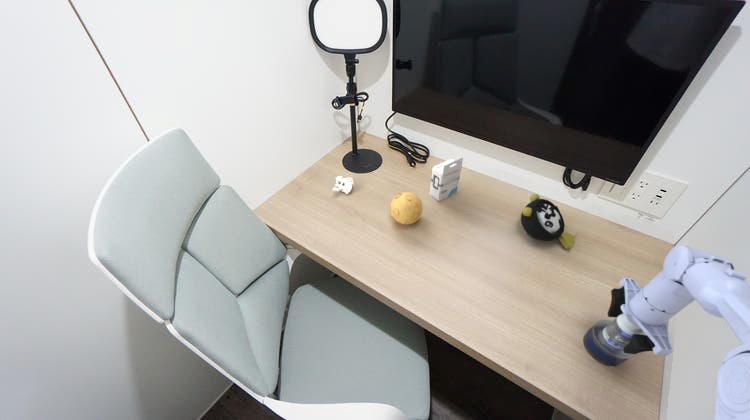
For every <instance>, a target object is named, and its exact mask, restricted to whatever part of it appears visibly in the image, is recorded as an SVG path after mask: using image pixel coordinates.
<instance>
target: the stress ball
mask: <svg viewBox="0 0 750 420" xmlns="http://www.w3.org/2000/svg"><path fill="white" fill-rule="evenodd" d="M423 210H424V206H423V202H422V200H421V199H420V197H419V196H418V195H417V194H415V193H413V192H409V191H405V192H404V191H403V192H399V193H397V194H396V195H395V196H394V197H393V199H392V200H391V203H390V216H391V217H392V218H393V219H394V220H395V221H396V222H397V223H399V224H402V225H413V224H415V223H416V222H417V221H418V220H419V219H420V218H421V216H422V214H423V212H424V211H423Z"/></svg>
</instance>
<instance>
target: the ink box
mask: <svg viewBox="0 0 750 420" xmlns="http://www.w3.org/2000/svg"><path fill="white" fill-rule="evenodd" d="M463 160H464V157H460V158H457V159H456V160H455V159H454V158H449V159H448V160H445V161H442V162H441V163H439V164H435V165H434V166H432V170H431V179H430V187H429V195H430V197H432V198H433V199H435V200H436V201H437V202H441V201H442V200H445V199H446V198H449V197H450V196H452V195H454V194H456V193H457V191H458V186H459V182H460V177H461V173H462V168H463Z"/></svg>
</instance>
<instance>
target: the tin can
mask: <svg viewBox="0 0 750 420" xmlns="http://www.w3.org/2000/svg"><path fill="white" fill-rule="evenodd" d="M612 321H613V320H610V319H600V320H597V321H596V322H594V324H593V325H592V326H591V327H590V328H589V329H588V330H587V331H586V332H585V334H584V335H583V338H582V339H583V346H584V347H585V350H586V352H587V353H588V354H589V356H590V357H592V358H593V359H594V360H595V361H597V362H598V363H600V364H601V365H604V366H607V367H618V366H621V365H622V364H624V363H625V362H627V361H628V360H629V359H631V358H633V357H635V355H636V354H627V353H624V351H623V349H619V348H616V347H613V346H612V345H610V344H609V343H608V342H607V341H606V340H605V338H604V336H603V330H604V329H605V328H606V327H607V326H608V325H609V324H610V323H611V322H612Z"/></svg>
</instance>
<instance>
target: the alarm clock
mask: <svg viewBox="0 0 750 420" xmlns="http://www.w3.org/2000/svg"><path fill="white" fill-rule="evenodd" d="M540 197H541V196H540V195H539V194H537V193H532V194H530V197H529V199H530V202H528V203H527V204H526V205H525V206H524V208H523V209H522V212H521V214H520V222H521V223H520V224H521V226H522V229H523V230H524V231H525V233H526V234H527V235H528V236H529V237H531V238H533V239H535V240H537V241H540V242H541V241H542V242H550V241H555V240H557V239H558V240H559V242H560V244H561V245H562V246H563V247H564V249H565V250H569V249H572V248H573V247H574V243H575V241H576V236H575V235H574V234H572V233H570V232H567V231H565V225H566V224H565V220H564V216H563V215H562V213H561V210H560V209H559V207H558V205H555V204H554V203H553V202H552V201H550V200H549V199H545V198H540Z"/></svg>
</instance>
